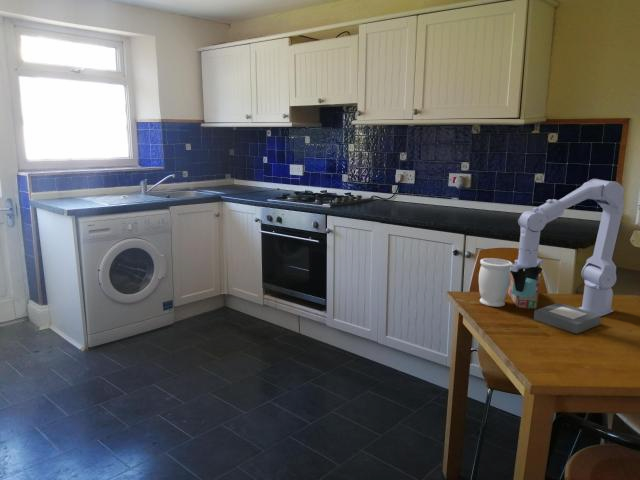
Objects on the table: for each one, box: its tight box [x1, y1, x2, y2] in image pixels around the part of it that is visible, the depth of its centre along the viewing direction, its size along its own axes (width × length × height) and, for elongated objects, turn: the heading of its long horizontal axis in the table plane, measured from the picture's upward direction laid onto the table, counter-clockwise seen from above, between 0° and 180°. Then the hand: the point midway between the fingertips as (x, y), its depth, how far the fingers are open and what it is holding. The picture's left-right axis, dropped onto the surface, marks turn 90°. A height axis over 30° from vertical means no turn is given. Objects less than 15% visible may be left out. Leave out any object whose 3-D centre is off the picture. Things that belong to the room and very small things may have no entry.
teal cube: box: [512, 278, 537, 298], centre depth 163 cm, size 5×5×5 cm
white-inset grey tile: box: [533, 302, 602, 335], centre depth 159 cm, size 14×14×3 cm
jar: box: [478, 257, 513, 308], centre depth 174 cm, size 11×10×15 cm
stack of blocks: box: [507, 267, 542, 310], centre depth 180 cm, size 21×6×12 cm, turn 172°
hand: (524, 289), depth 163 cm, fingers closed on teal cube, 5 cm apart
